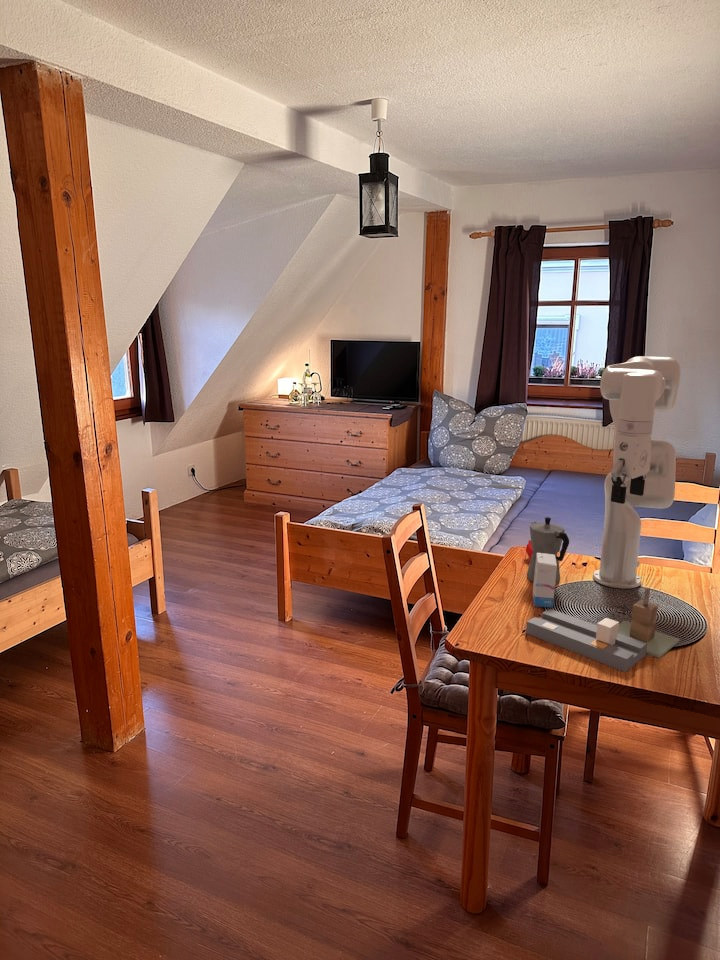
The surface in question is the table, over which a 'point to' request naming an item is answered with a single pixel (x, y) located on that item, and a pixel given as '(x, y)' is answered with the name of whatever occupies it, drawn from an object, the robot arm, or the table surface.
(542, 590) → the ink box
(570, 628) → the switch panel
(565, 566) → the table surface
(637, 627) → the brown block
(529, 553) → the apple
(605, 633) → the switch tab
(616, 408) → the robot arm
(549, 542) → the coffeepot
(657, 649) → the mat
